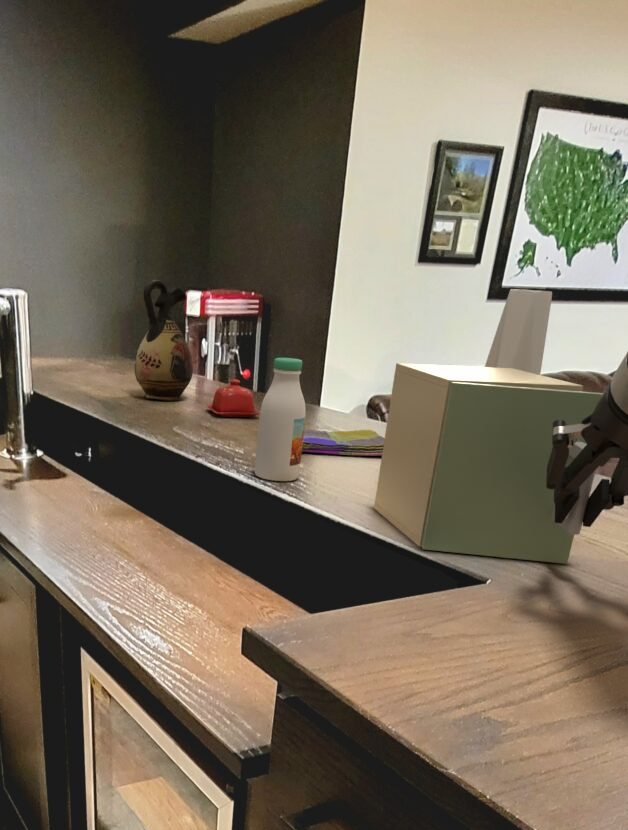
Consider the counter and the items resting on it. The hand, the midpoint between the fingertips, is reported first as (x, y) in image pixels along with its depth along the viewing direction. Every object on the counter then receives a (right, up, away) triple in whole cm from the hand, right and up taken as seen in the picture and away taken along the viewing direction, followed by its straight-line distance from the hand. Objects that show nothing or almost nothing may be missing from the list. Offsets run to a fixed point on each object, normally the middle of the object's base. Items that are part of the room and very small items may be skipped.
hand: (572, 514), depth 86 cm
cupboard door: (-6, -6, +5) cm, 10 cm away
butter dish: (-34, +25, +91) cm, 100 cm away
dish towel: (-16, +14, +64) cm, 68 cm away
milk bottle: (-30, +7, +39) cm, 50 cm away
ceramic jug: (-52, +31, +107) cm, 123 cm away
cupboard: (-7, -2, +19) cm, 20 cm away
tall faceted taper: (+11, +7, +49) cm, 51 cm away
